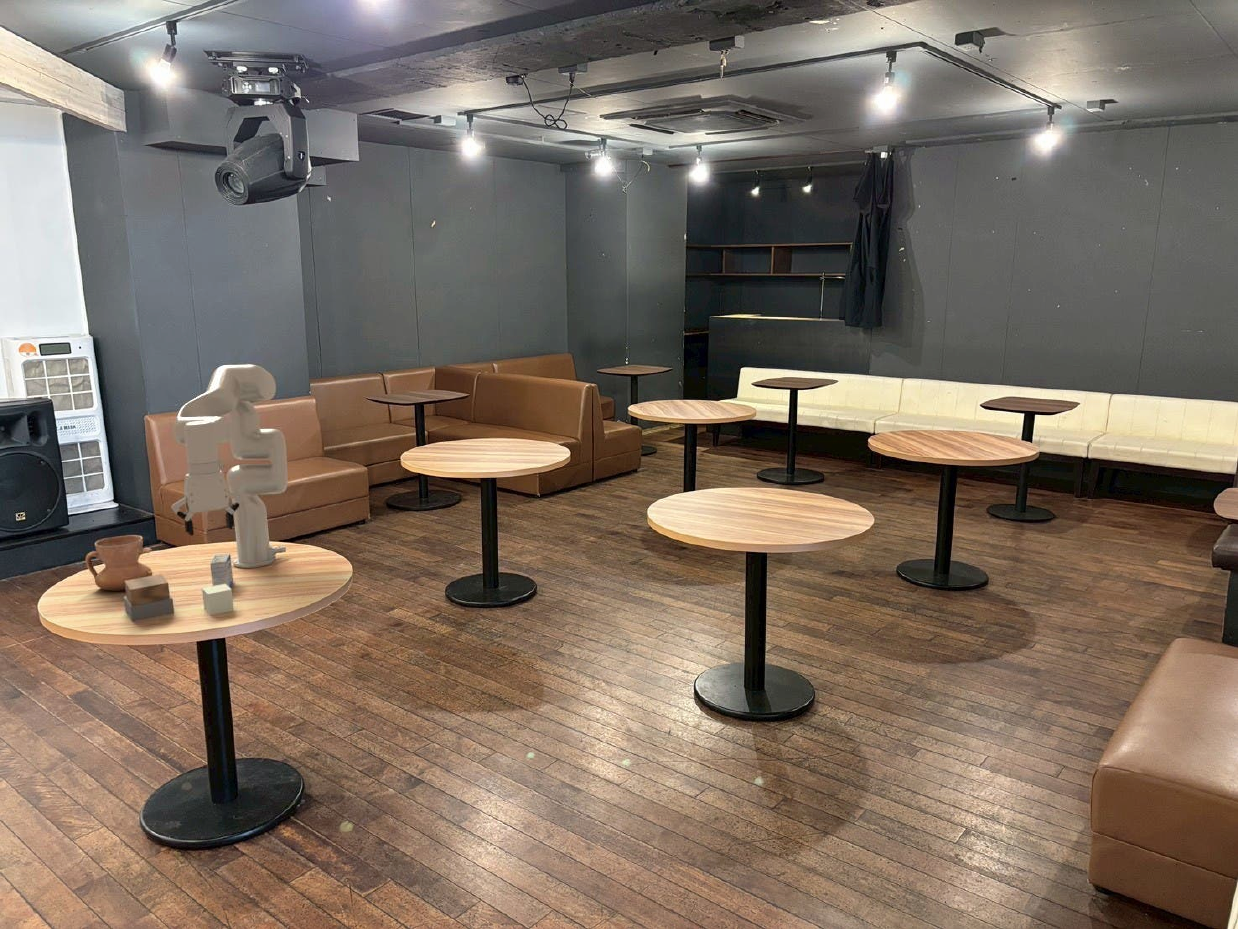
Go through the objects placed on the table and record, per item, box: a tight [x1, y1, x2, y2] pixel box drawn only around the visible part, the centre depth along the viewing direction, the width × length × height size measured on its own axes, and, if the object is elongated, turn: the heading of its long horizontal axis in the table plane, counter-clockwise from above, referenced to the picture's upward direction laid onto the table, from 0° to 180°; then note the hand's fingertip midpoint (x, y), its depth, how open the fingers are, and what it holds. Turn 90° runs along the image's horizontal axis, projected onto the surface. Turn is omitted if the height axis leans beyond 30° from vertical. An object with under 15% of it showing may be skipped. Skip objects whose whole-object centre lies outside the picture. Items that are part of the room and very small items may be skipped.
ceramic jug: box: [85, 534, 153, 592], centre depth 252 cm, size 18×14×14 cm
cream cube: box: [201, 584, 235, 616], centre depth 234 cm, size 6×6×6 cm
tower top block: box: [125, 573, 171, 606], centre depth 232 cm, size 9×9×4 cm
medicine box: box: [209, 553, 234, 588], centre depth 252 cm, size 8×4×9 cm, turn 17°
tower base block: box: [123, 595, 175, 623], centre depth 233 cm, size 10×10×4 cm
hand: (210, 531), depth 230 cm, fingers open, 9 cm apart
